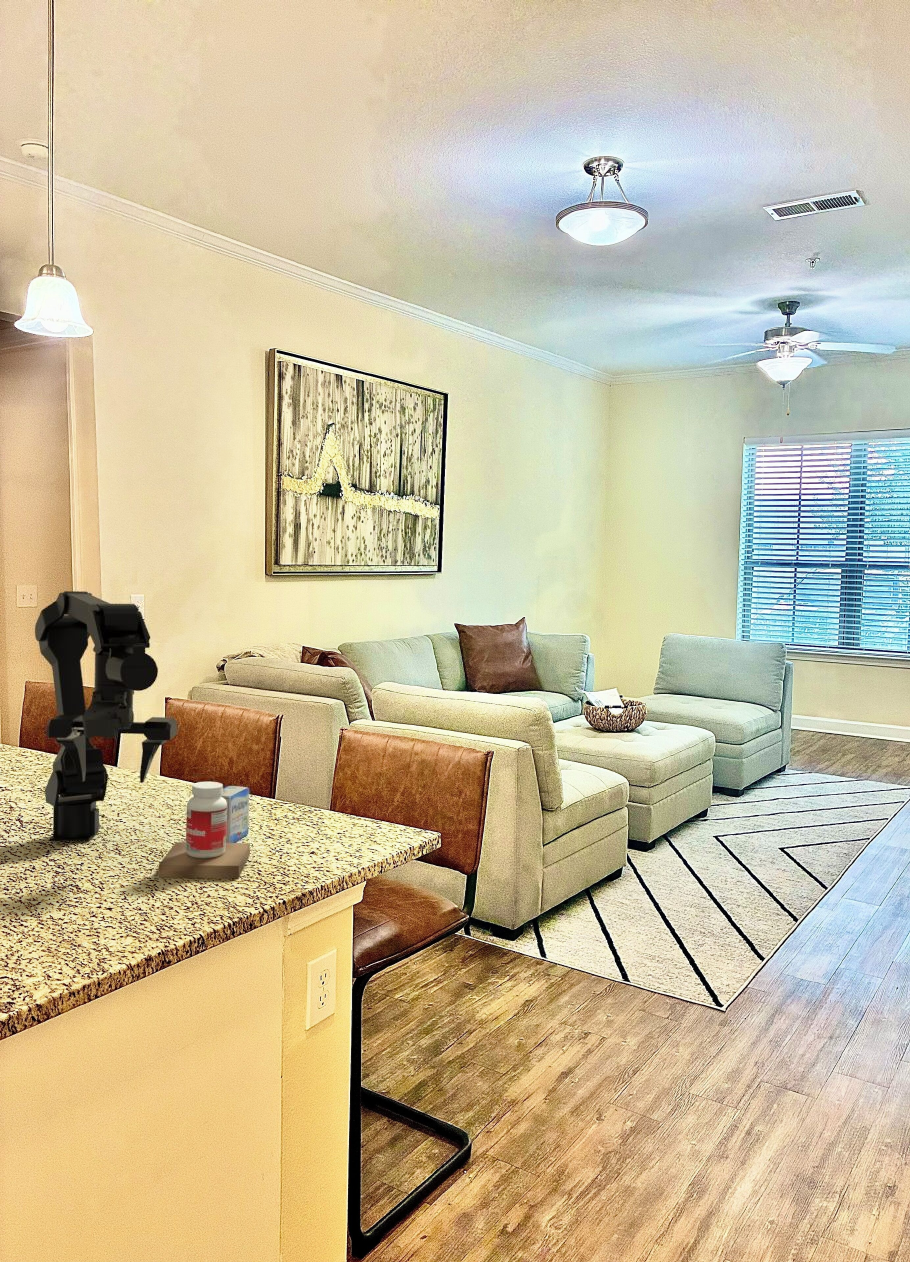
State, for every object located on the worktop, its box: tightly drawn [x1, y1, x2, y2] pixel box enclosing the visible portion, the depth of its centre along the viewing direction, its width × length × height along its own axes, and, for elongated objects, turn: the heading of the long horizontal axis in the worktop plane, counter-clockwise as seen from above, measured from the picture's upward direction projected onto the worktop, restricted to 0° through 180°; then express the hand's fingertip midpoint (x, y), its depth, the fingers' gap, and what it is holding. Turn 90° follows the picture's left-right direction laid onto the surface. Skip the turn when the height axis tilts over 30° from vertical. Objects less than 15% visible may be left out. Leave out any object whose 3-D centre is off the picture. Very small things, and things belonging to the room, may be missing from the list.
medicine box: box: [221, 785, 250, 843], centre depth 165 cm, size 8×4×9 cm, turn 169°
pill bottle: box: [185, 781, 227, 858], centre depth 150 cm, size 6×6×11 cm
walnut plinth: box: [158, 841, 251, 880], centre depth 150 cm, size 12×12×2 cm
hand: (112, 781), depth 149 cm, fingers open, 9 cm apart
